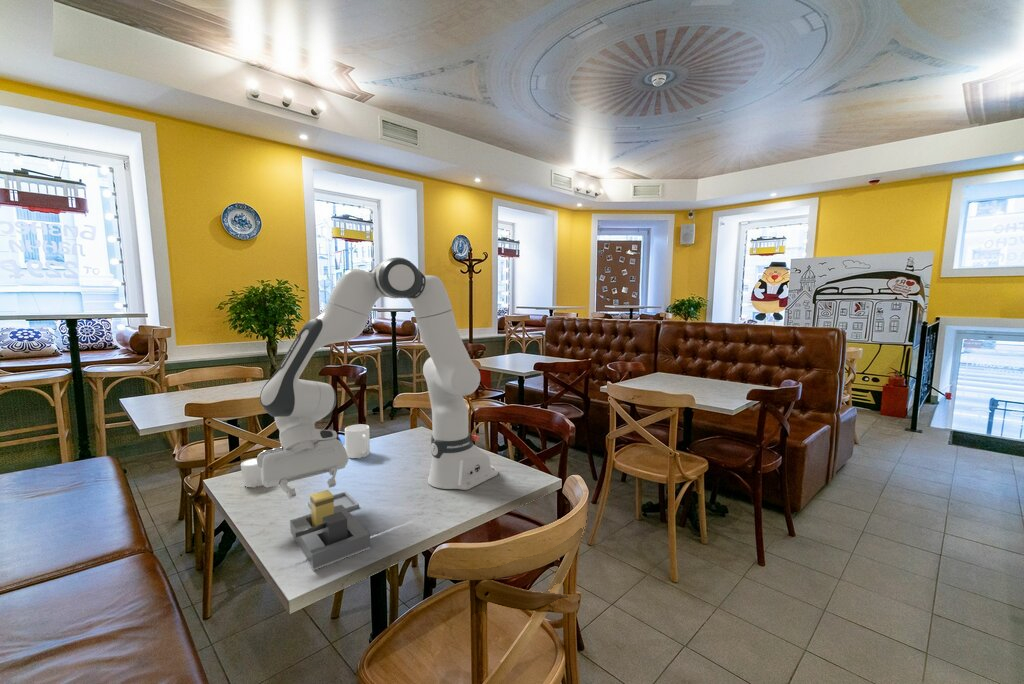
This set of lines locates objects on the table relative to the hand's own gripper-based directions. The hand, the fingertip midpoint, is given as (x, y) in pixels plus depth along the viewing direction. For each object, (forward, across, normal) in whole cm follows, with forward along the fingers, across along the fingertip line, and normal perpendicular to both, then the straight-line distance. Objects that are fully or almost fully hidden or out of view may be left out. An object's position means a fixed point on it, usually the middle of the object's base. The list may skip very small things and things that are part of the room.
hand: (313, 491), depth 104 cm
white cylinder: (-19, -7, +31) cm, 37 cm away
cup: (-20, +26, +32) cm, 46 cm away
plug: (+10, 0, +1) cm, 10 cm away
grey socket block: (+14, 0, -2) cm, 14 cm away
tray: (+3, +6, +9) cm, 11 cm away
